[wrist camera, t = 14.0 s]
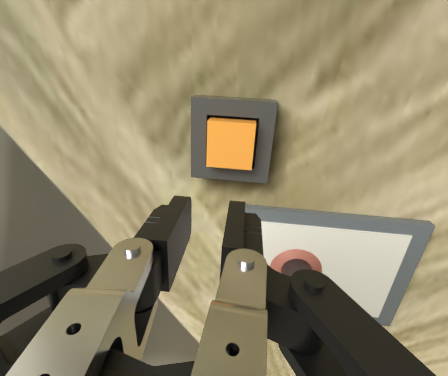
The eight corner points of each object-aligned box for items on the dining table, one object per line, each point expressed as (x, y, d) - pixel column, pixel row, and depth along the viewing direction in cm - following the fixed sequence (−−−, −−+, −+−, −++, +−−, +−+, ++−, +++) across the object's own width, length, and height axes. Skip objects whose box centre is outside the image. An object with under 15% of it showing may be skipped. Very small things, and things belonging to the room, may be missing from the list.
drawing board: (429, 221, 29) (437, 227, 28) (386, 319, 36) (391, 328, 34) (236, 203, 31) (236, 209, 29) (229, 301, 37) (228, 309, 36)
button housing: (275, 99, 26) (277, 102, 23) (266, 174, 29) (267, 183, 27) (196, 95, 26) (191, 97, 24) (195, 168, 29) (191, 177, 27)
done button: (255, 120, 25) (256, 123, 23) (251, 163, 26) (251, 170, 25) (210, 117, 25) (207, 120, 23) (209, 160, 27) (206, 166, 25)
